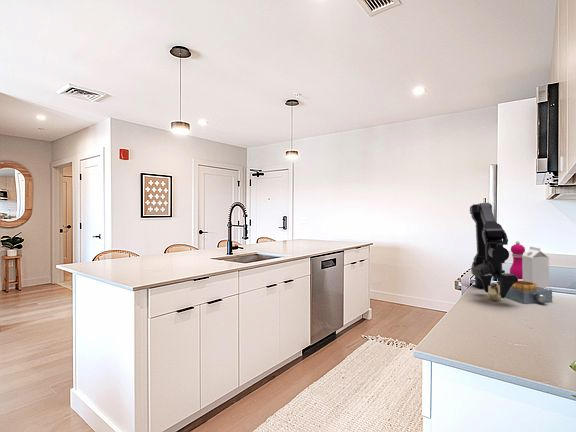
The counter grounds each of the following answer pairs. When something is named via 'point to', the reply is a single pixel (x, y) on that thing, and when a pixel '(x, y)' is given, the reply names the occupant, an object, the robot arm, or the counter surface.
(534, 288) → the gearbox
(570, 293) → the counter surface
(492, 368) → the counter surface
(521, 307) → the counter surface
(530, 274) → the milk carton
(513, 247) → the pepper mill
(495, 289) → the beige cylinder
